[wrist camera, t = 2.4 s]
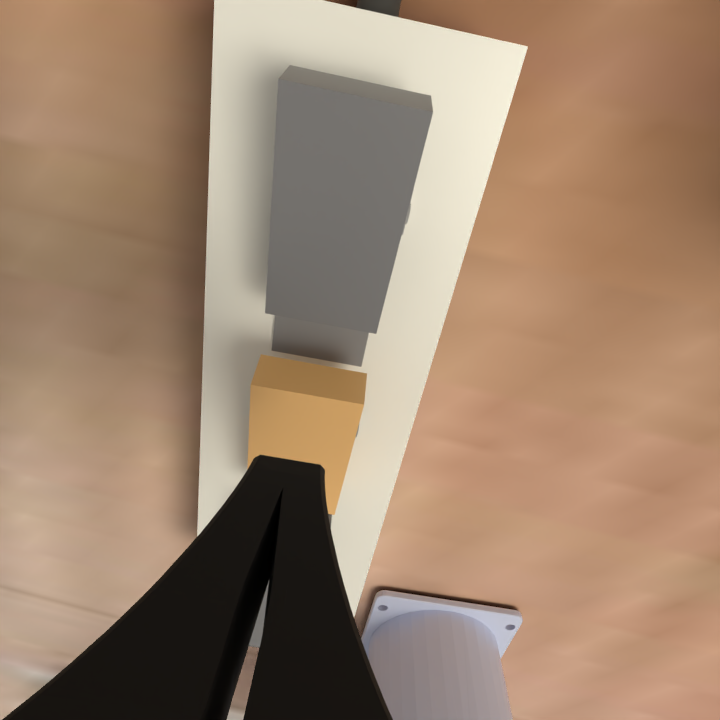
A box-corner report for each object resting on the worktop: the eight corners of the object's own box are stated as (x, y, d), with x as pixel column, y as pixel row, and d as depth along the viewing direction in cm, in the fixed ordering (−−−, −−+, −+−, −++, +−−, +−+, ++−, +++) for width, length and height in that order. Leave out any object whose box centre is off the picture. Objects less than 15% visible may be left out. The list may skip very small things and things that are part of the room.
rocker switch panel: (356, 555, 25) (352, 638, 21) (218, 533, 25) (189, 614, 21) (578, -243, 11) (675, -400, 8) (272, -324, 11) (215, -533, 7)
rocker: (378, 307, 14) (376, 333, 13) (274, 288, 14) (264, 313, 13) (430, 95, 10) (432, 111, 9) (289, 65, 10) (278, 78, 9)
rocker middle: (338, 484, 18) (334, 514, 17) (254, 470, 17) (246, 500, 16) (367, 373, 14) (364, 404, 13) (261, 354, 14) (250, 384, 13)
